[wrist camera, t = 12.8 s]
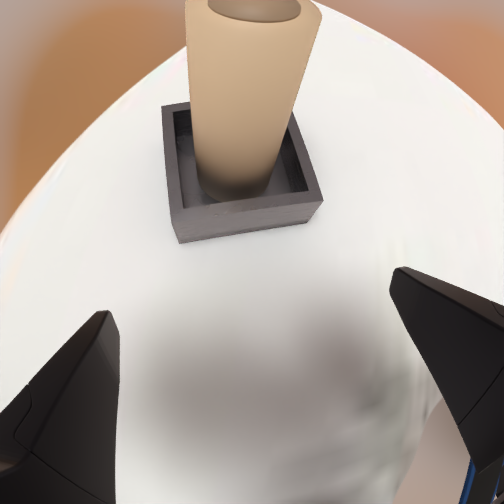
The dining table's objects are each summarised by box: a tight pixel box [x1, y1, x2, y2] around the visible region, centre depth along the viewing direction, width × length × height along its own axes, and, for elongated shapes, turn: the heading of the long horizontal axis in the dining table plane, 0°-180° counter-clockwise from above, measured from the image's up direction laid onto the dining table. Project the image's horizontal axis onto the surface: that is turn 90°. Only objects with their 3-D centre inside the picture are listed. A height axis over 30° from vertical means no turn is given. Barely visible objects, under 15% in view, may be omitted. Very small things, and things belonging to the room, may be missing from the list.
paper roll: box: [185, 0, 322, 202], centre depth 16 cm, size 6×6×14 cm
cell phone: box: [458, 454, 504, 504], centre depth 17 cm, size 7×14×1 cm, turn 179°
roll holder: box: [161, 102, 324, 244], centre depth 21 cm, size 10×10×4 cm
